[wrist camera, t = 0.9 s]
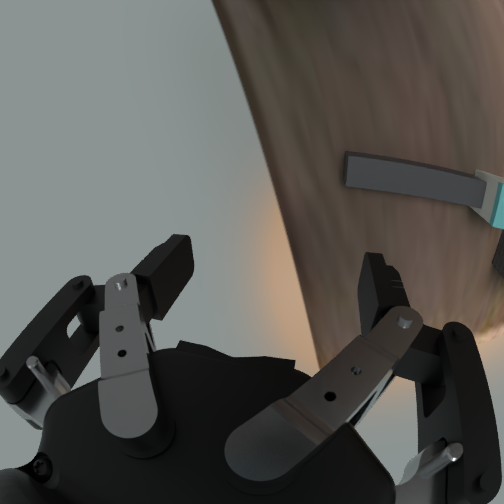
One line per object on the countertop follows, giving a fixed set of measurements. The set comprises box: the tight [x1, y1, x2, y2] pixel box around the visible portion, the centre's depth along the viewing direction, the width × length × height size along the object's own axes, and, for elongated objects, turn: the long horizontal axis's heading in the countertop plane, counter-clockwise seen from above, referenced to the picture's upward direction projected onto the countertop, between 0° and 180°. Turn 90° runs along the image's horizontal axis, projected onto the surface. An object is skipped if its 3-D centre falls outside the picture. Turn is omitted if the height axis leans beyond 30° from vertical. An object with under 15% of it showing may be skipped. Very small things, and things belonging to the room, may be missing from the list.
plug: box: [343, 151, 504, 229], centre depth 22 cm, size 4×21×6 cm, turn 91°
